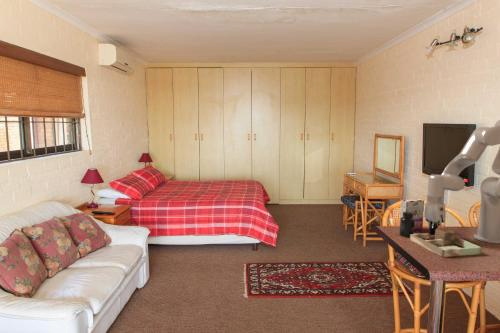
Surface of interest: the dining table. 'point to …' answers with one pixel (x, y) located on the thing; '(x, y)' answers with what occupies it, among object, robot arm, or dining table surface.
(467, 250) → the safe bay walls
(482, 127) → the robot arm
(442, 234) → the tan wooden block
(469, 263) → the dining table surface
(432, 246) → the lane box
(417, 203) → the candy bar box
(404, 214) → the supplement bottle
